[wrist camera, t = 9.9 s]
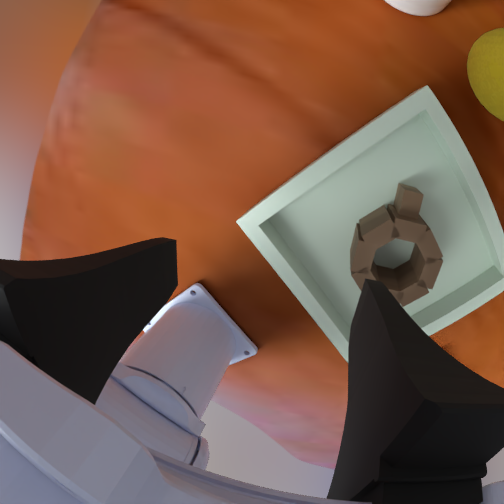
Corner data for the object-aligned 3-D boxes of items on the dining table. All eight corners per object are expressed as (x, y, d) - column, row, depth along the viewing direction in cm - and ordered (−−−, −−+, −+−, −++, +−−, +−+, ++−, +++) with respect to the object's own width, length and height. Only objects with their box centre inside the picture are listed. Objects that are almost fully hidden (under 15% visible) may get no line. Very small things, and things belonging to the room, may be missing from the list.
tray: (354, 349, 23) (354, 370, 21) (247, 210, 21) (235, 221, 19) (503, 265, 16) (517, 280, 14) (416, 89, 14) (427, 85, 12)
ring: (414, 288, 19) (422, 312, 16) (343, 272, 20) (343, 295, 17) (444, 196, 16) (460, 208, 13) (366, 175, 17) (371, 184, 14)
